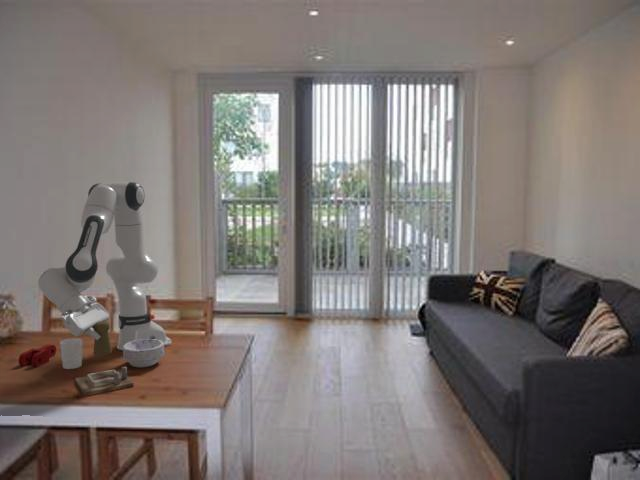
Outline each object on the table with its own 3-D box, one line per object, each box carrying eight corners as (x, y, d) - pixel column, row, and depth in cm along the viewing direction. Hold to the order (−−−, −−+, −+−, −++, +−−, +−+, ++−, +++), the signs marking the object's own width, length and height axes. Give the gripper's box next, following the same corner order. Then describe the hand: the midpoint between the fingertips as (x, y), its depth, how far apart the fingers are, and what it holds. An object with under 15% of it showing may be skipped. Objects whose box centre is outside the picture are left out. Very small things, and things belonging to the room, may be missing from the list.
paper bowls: (126, 372, 207) (126, 352, 206) (120, 361, 221) (120, 341, 220) (168, 366, 214) (167, 346, 213) (160, 355, 228) (159, 336, 227)
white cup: (88, 364, 217) (86, 339, 215) (73, 370, 209) (71, 344, 208) (71, 362, 219) (70, 337, 218) (56, 368, 212) (55, 342, 211)
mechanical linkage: (35, 368, 212) (35, 355, 212) (19, 367, 213) (18, 354, 213) (61, 355, 228) (61, 343, 227) (46, 354, 229) (45, 342, 228)
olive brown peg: (96, 350, 197) (95, 319, 196) (114, 349, 198) (112, 319, 197) (90, 355, 191) (89, 324, 190) (109, 355, 192) (107, 324, 191)
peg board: (121, 372, 207) (121, 359, 206) (133, 386, 194) (133, 371, 193) (75, 381, 198) (74, 367, 198) (84, 396, 185) (83, 381, 184)
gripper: (64, 308, 183) (94, 338, 183) (96, 295, 203) (122, 322, 203) (52, 321, 184) (81, 351, 184) (85, 307, 204) (111, 334, 204)
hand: (103, 336), depth 194 cm, fingers closed on olive brown peg, 4 cm apart
